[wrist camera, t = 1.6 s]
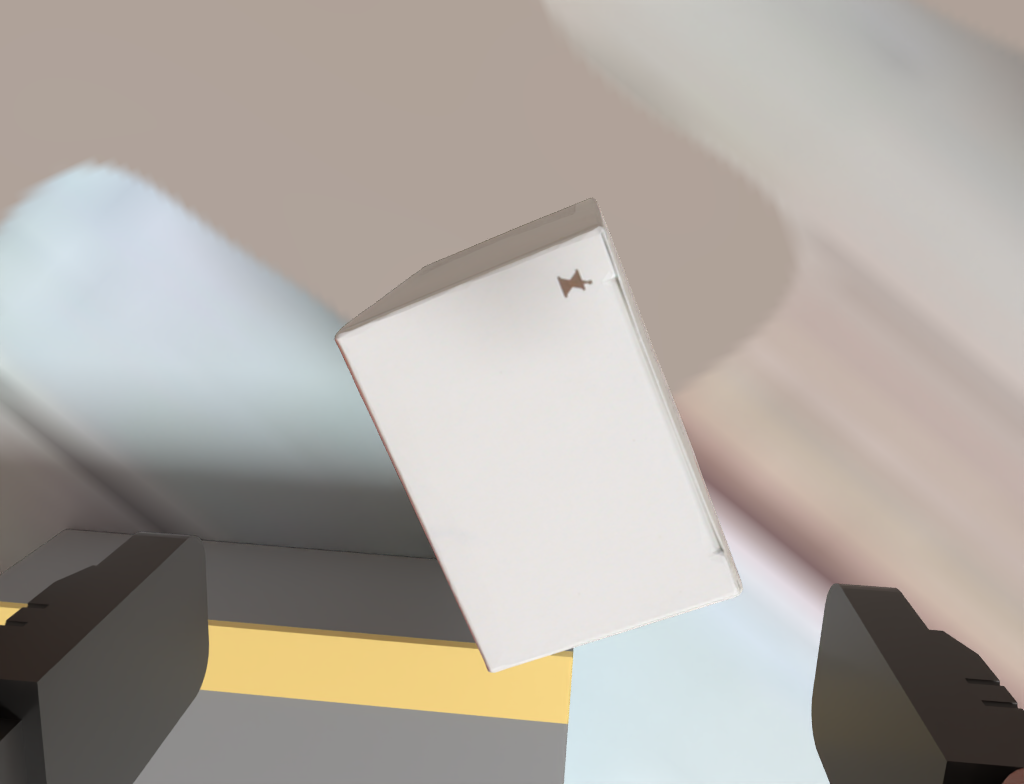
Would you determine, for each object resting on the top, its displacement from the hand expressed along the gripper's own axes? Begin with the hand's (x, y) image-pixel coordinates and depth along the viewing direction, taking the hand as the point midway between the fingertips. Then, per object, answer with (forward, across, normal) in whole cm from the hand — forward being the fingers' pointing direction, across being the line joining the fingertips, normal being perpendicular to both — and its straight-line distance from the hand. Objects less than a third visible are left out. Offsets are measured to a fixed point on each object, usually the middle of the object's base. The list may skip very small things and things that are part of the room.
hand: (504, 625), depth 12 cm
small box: (+17, 0, 0) cm, 17 cm away
